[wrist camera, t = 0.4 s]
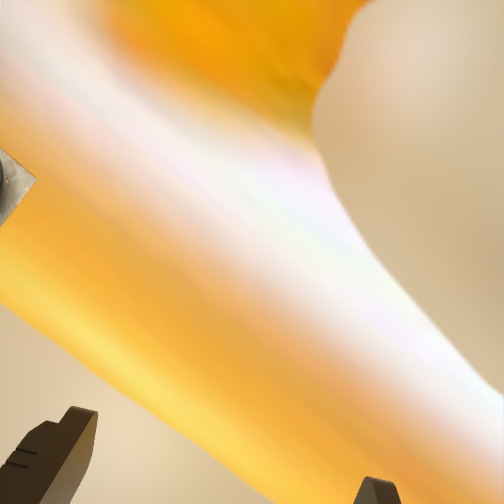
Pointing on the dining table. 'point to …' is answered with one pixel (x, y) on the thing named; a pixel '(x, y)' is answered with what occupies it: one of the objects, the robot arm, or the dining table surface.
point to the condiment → (12, 185)
